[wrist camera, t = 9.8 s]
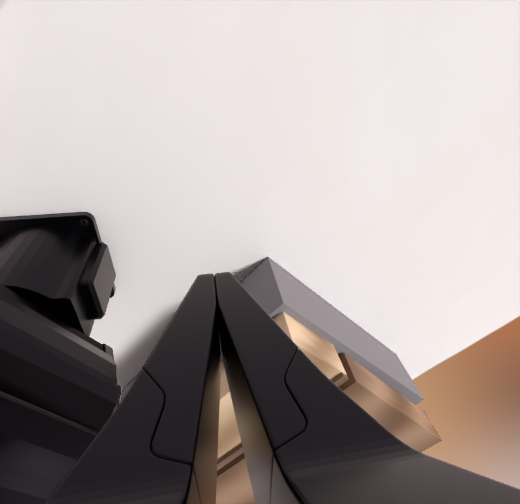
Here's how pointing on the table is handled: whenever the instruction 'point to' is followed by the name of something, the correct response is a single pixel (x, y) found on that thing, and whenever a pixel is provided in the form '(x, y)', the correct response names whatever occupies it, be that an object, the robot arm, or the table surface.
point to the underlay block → (324, 325)
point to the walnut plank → (366, 396)
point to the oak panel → (312, 347)
